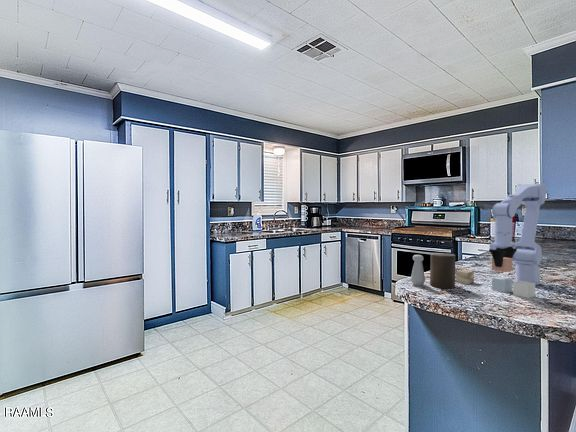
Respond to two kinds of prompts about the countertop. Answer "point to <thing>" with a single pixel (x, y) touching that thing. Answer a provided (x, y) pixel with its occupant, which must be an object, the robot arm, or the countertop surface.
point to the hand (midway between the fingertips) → (502, 266)
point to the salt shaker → (418, 271)
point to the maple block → (465, 276)
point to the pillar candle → (442, 270)
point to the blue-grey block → (502, 284)
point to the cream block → (524, 289)
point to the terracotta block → (503, 265)
